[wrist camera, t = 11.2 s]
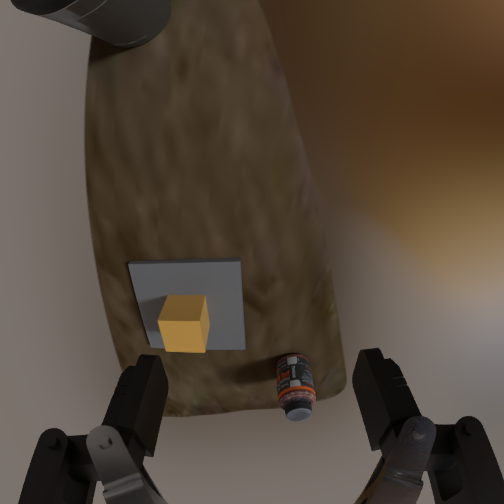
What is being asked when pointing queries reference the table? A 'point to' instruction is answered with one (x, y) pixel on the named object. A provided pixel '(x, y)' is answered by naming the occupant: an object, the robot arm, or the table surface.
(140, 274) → the thin gray plate
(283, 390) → the supplement bottle
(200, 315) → the mustard foam cube
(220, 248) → the table surface
